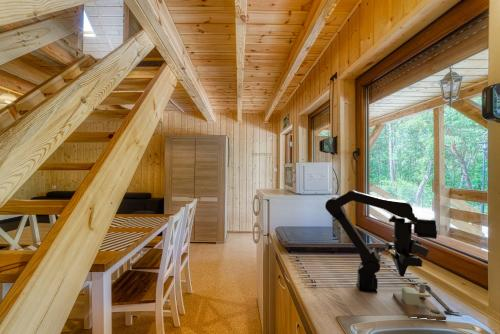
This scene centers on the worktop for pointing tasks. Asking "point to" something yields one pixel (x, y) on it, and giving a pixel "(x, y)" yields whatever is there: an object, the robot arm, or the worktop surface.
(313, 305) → the worktop surface
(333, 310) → the worktop surface
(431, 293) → the tactical tomahawk
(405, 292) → the pointer block
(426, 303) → the board
